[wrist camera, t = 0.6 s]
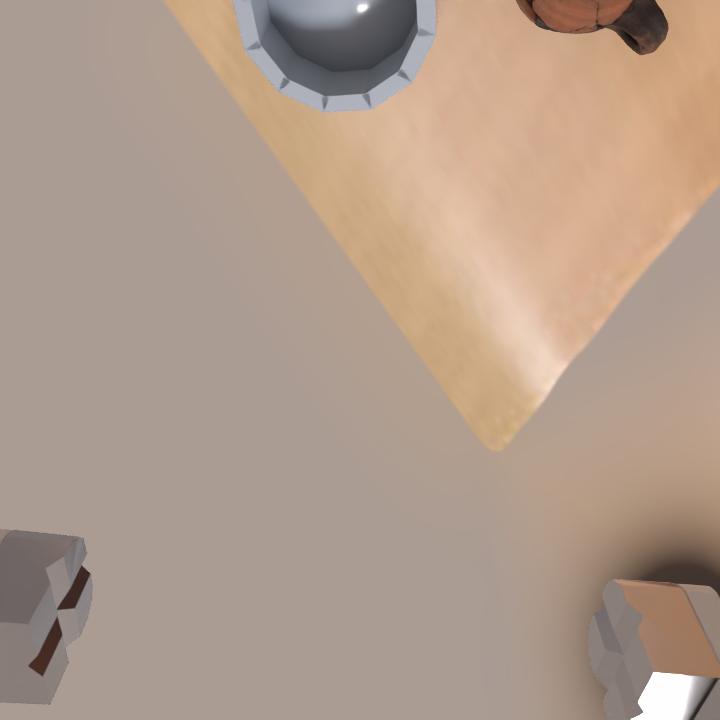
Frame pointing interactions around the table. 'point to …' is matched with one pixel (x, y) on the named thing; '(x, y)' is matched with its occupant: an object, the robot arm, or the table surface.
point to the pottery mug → (603, 19)
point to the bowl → (338, 47)
